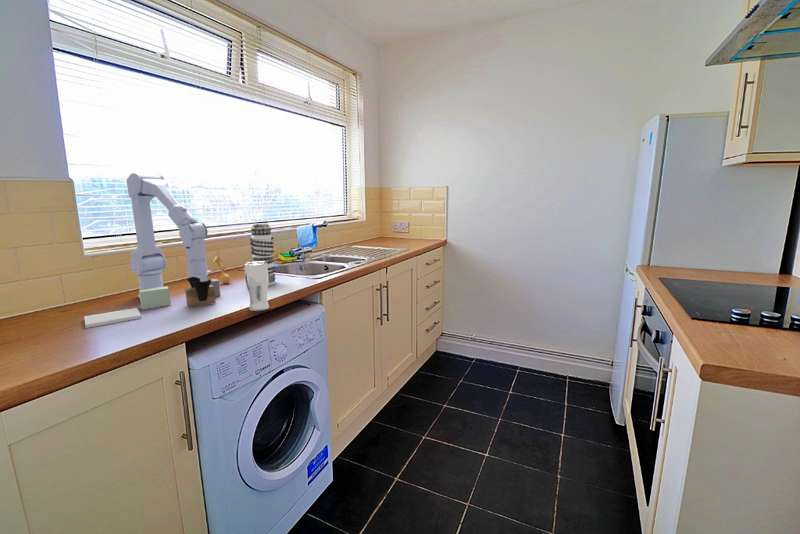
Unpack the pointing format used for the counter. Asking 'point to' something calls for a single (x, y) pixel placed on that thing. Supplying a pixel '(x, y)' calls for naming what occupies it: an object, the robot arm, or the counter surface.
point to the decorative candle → (263, 248)
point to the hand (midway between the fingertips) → (200, 298)
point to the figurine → (224, 277)
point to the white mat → (111, 317)
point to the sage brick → (154, 297)
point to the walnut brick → (194, 300)
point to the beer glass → (257, 285)
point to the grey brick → (216, 287)
